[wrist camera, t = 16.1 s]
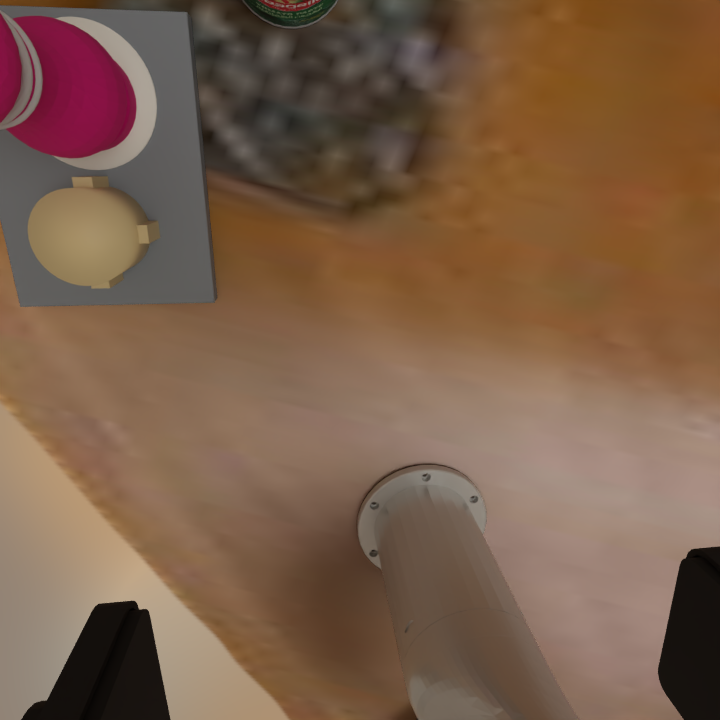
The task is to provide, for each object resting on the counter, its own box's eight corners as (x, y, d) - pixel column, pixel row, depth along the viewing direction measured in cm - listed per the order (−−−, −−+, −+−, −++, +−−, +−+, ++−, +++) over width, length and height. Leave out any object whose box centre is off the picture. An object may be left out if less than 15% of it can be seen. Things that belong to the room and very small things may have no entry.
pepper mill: (11, 119, 34) (-339, 64, 15) (52, 10, 32) (-288, -203, 13) (119, 180, 36) (-75, 196, 17) (163, 80, 34) (1, -21, 15)
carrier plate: (217, 298, 41) (203, 320, 35) (30, 301, 40) (-19, 326, 34) (191, 18, 34) (168, -14, 28) (-35, 10, 33) (-110, -25, 27)
